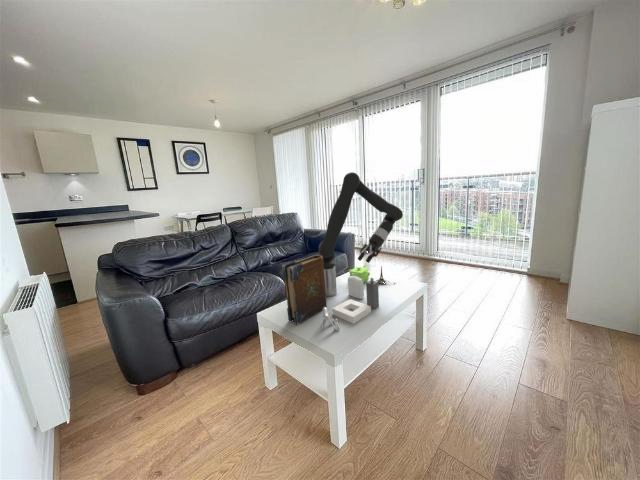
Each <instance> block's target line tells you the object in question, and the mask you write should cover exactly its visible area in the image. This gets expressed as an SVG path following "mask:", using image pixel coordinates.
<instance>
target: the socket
mask: <svg viewBox="0 0 640 480" xmlns="http://www.w3.org/2000/svg"><path fill="white" fill-rule="evenodd" d="M371 313H372V309H371V306H368V305H367V303H362V302H360V301H357V300H354V299H351V298H350V299H347V300H345V301H344V302H341V303H340V304H338V305H337V306H334V307H332V315H333V316H335V317H337V318H339V319H342V320H343V321H346V322H348V323H351V324H355V323H357V322H359V321H360V320H362V319H363V318H365V317H366V316H368V315H370V314H371Z"/></svg>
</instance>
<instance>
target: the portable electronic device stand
mask: <svg viewBox="0 0 640 480" xmlns="http://www.w3.org/2000/svg"><path fill="white" fill-rule="evenodd" d="M321 311H322V314H323V320H322V323H321V327H322V329H321V330H322V331H324V328H325V326H326V324H327V321H328V320H329V321H330V323H331V325H332V327H333V328H334V329H335V331H336V332H339V331H340V326H339V321H338V317H337V316H335V318H333V316H332V315H331V313H330V311H329V310H328V308H327V307H323V309H322V310H321Z"/></svg>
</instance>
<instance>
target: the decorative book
mask: <svg viewBox="0 0 640 480" xmlns="http://www.w3.org/2000/svg"><path fill="white" fill-rule="evenodd" d="M281 267H282V275H283V280H284V284H285V285H284V286H285V294H286V295H285V296H286V303H287V304H286V305H287V308H286V311H287V320H289V321H292V320H294V319H295V320H294V323H295V324H296V325H295V326H297V325H298V326H300V325H301V324H302V322H303V323H305V322H306V321H308V319H309V318H311V317H313V316H314V315H316V314H317V313H320V312H321V311H323V310H322V309H323V307H326V308H327V305H328V303H327V296H326V290H325V277H324V264H323V256H321V255H319V254H316V255H311V256H308V257H305V258H303V259H299V260H298V261H289V262H286V263H285V264H282V266H281ZM289 321H288V322H289ZM304 321H305V322H304ZM292 322H293V321H292ZM299 324H300V325H299Z"/></svg>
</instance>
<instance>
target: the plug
mask: <svg viewBox="0 0 640 480" xmlns="http://www.w3.org/2000/svg"><path fill="white" fill-rule="evenodd" d="M365 287H366V288H365V290H366V292H365V293H366V305H368V306H371V310H376V309H378V308H379V307H380V301H379V297H380V296H379V295H380V294H379V293H380V292H379V285H378V281H376V280H374V277H370V280H369V281H366V282H365Z"/></svg>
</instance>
